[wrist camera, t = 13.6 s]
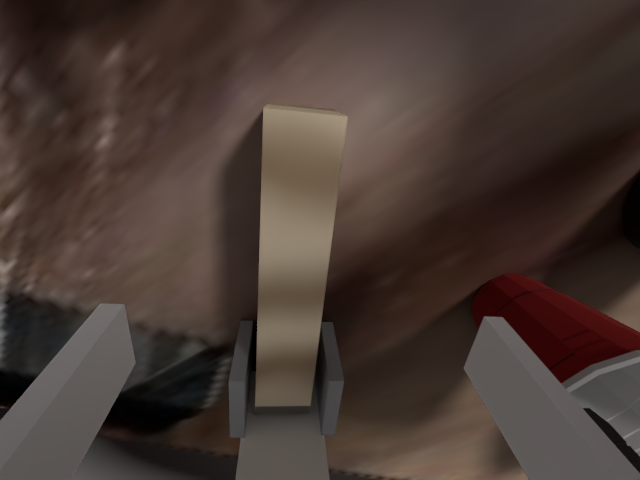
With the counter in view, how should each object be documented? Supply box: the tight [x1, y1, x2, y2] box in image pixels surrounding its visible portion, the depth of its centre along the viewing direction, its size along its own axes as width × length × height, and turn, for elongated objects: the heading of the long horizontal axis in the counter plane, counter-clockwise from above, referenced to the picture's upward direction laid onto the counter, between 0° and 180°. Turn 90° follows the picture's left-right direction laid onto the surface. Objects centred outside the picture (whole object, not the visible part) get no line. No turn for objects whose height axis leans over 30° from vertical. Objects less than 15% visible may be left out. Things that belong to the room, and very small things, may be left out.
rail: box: [255, 103, 348, 414], centre depth 22 cm, size 21×4×5 cm, turn 174°
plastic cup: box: [471, 274, 640, 456], centre depth 23 cm, size 11×11×12 cm
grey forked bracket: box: [229, 320, 344, 480], centre depth 22 cm, size 12×8×15 cm, turn 174°
